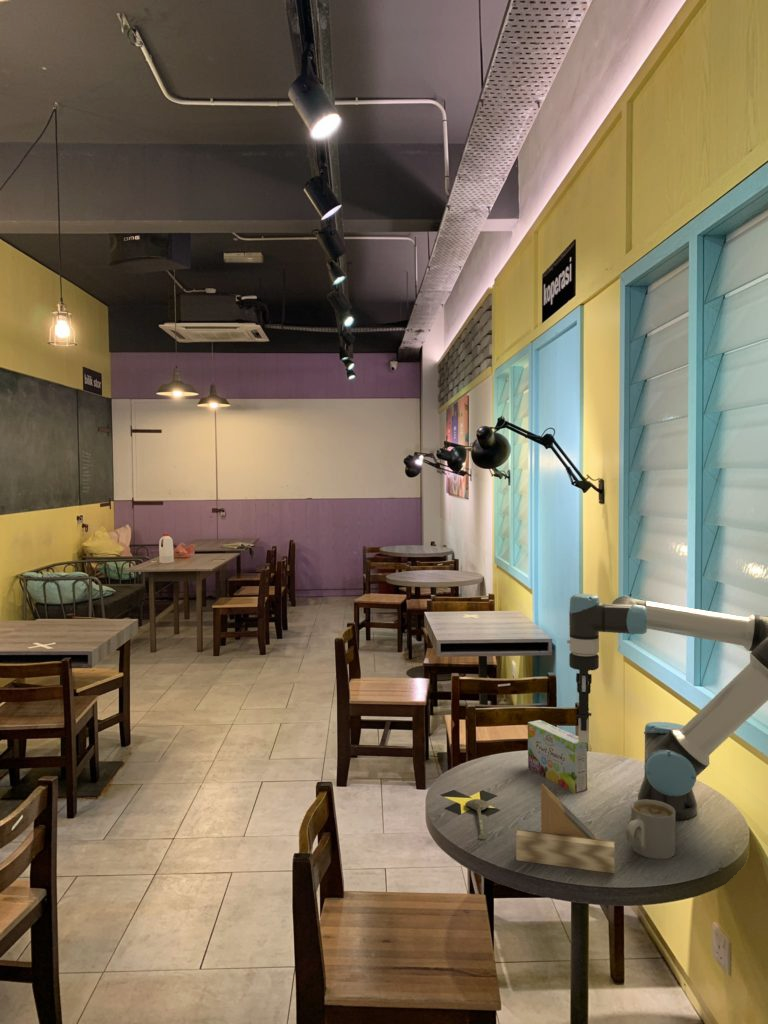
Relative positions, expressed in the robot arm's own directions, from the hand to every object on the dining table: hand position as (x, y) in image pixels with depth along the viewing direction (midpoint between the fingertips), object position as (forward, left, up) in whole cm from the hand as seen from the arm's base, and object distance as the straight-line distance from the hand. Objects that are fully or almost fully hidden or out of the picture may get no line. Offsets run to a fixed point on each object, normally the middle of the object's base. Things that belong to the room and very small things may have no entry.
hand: (583, 741), depth 191 cm
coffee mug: (-15, +14, -21) cm, 29 cm away
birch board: (+4, +26, -20) cm, 33 cm away
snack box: (+8, -24, -21) cm, 33 cm away
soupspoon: (+27, +9, -21) cm, 35 cm away
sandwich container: (+1, +19, -21) cm, 28 cm away
